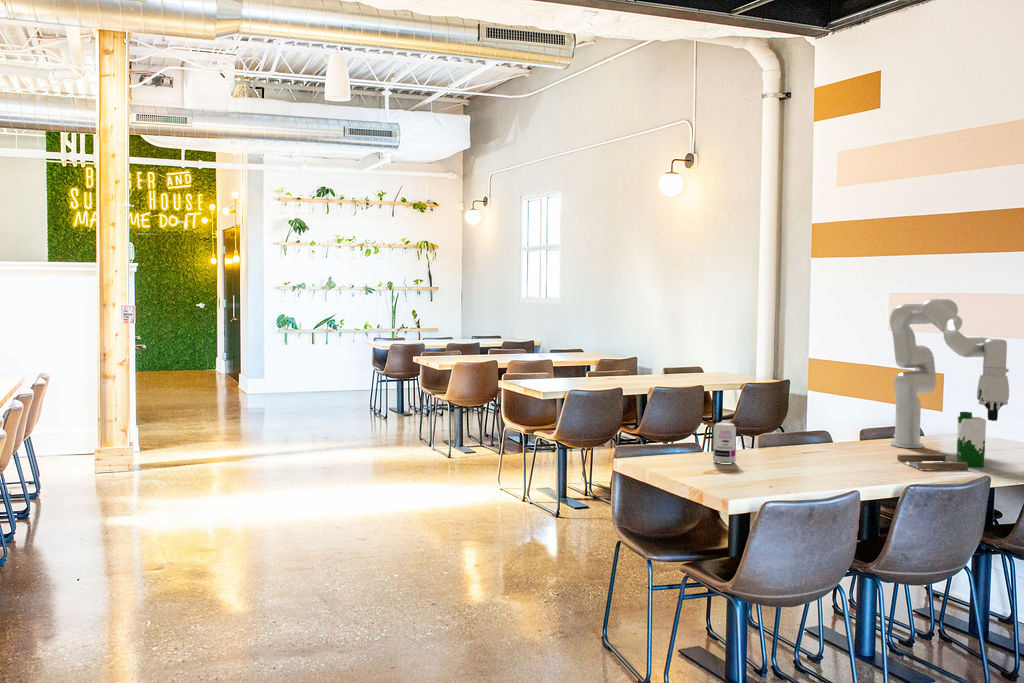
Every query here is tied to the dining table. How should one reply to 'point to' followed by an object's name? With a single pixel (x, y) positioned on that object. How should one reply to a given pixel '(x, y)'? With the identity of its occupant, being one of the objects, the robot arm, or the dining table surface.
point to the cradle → (917, 462)
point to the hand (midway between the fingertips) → (992, 420)
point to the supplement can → (724, 443)
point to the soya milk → (971, 439)
